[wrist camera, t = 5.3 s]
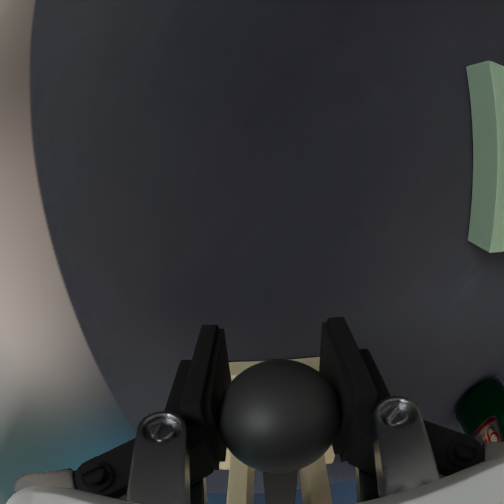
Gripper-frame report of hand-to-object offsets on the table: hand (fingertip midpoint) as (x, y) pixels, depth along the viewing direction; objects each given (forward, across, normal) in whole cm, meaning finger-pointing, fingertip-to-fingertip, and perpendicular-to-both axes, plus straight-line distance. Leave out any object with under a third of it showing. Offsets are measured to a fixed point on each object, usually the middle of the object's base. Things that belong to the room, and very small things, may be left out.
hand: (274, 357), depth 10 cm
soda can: (+5, -18, +12) cm, 22 cm away
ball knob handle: (-2, 0, +5) cm, 5 cm away
